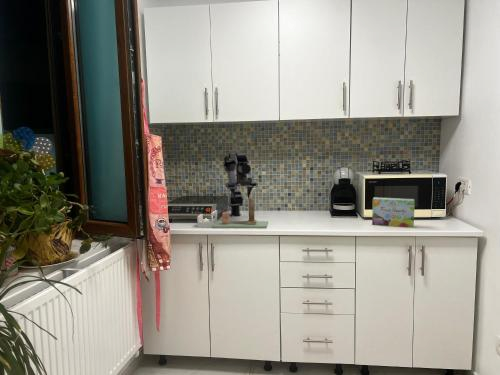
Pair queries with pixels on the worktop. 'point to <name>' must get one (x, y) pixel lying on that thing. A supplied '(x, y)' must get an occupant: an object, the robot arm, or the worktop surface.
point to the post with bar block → (251, 221)
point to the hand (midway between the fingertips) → (241, 198)
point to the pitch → (230, 225)
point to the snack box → (393, 212)
